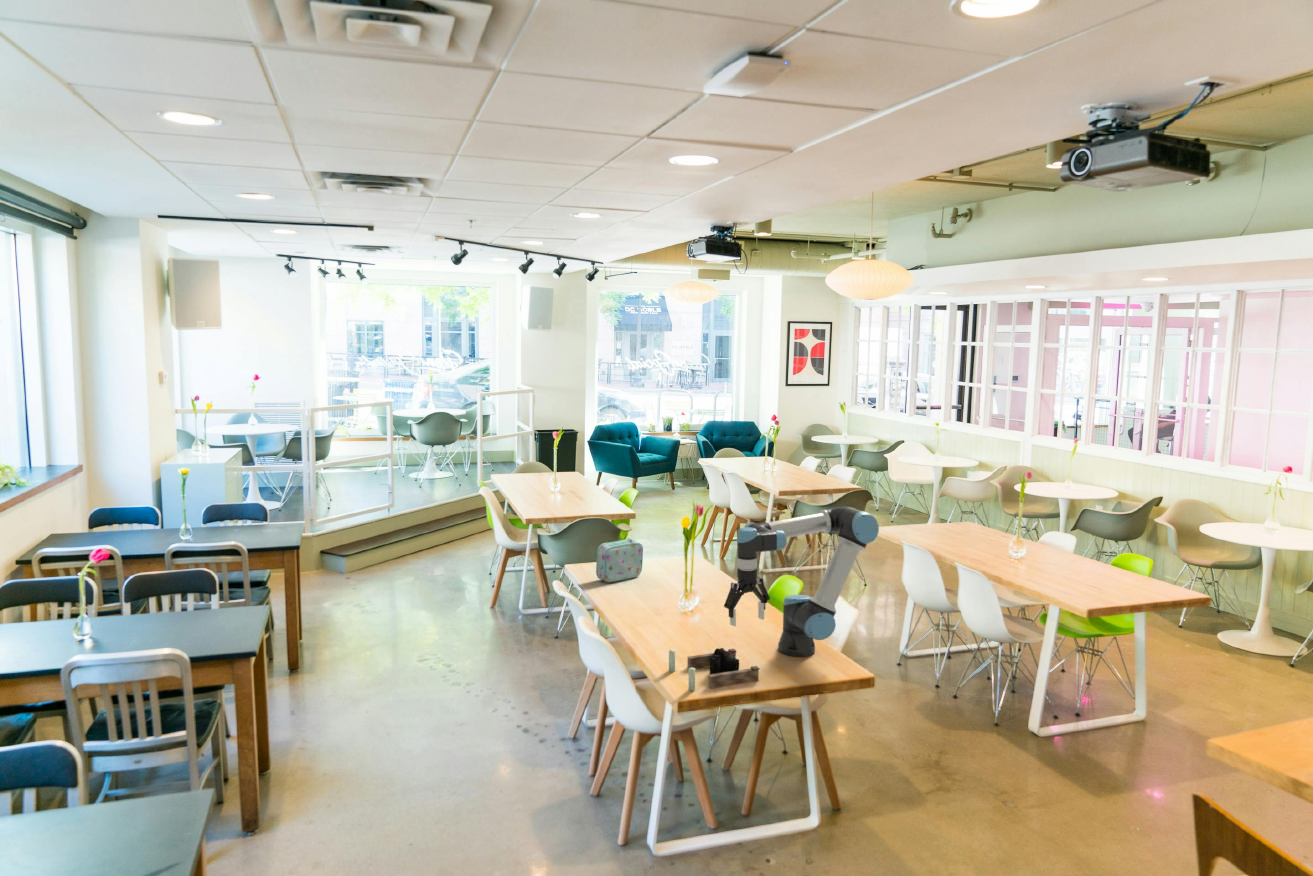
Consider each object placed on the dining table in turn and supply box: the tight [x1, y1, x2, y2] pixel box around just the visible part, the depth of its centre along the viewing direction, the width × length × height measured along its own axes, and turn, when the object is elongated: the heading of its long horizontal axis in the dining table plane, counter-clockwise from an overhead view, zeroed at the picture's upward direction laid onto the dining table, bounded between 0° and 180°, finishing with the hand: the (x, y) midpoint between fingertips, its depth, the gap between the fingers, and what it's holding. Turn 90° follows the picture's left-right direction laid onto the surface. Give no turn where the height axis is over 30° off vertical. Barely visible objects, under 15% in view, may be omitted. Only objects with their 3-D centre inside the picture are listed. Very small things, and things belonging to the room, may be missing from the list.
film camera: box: [709, 647, 740, 675], centre depth 317 cm, size 15×10×9 cm, turn 159°
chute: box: [687, 648, 760, 689], centre depth 317 cm, size 20×21×5 cm
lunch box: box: [595, 538, 644, 584], centre depth 443 cm, size 27×10×21 cm, turn 130°
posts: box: [668, 649, 696, 692], centre depth 310 cm, size 2×21×8 cm, turn 22°
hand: (747, 622), depth 318 cm, fingers open, 13 cm apart
